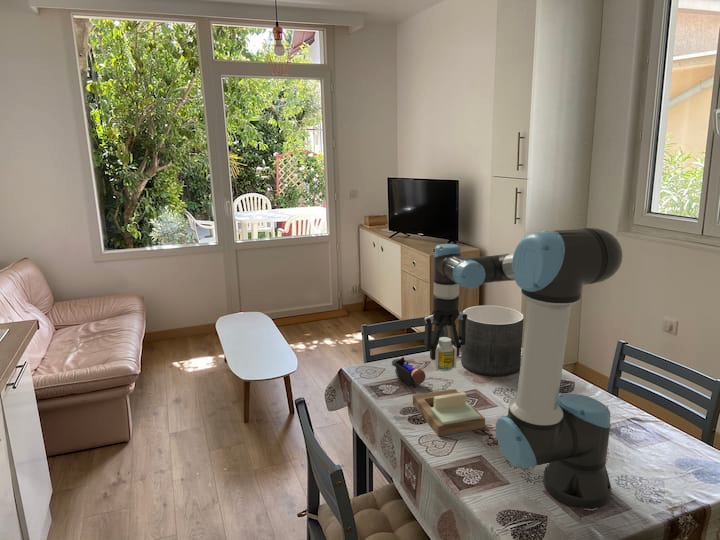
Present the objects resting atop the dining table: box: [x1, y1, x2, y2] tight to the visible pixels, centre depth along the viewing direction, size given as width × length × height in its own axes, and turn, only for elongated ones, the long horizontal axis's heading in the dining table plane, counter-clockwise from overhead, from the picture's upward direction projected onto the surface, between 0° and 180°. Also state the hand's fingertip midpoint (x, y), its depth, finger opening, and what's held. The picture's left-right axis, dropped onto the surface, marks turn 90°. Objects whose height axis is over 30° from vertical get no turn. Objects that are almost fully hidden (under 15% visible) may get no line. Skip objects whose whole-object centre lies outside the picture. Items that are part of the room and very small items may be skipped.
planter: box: [460, 305, 524, 377], centre depth 193 cm, size 22×22×20 cm
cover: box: [430, 391, 480, 425], centre depth 153 cm, size 9×12×4 cm
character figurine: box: [391, 356, 426, 389], centre depth 182 cm, size 8×7×15 cm
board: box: [412, 388, 486, 437], centre depth 159 cm, size 20×15×3 cm
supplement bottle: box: [436, 336, 454, 372], centre depth 158 cm, size 5×5×10 cm
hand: (444, 367), depth 159 cm, fingers closed on supplement bottle, 5 cm apart
